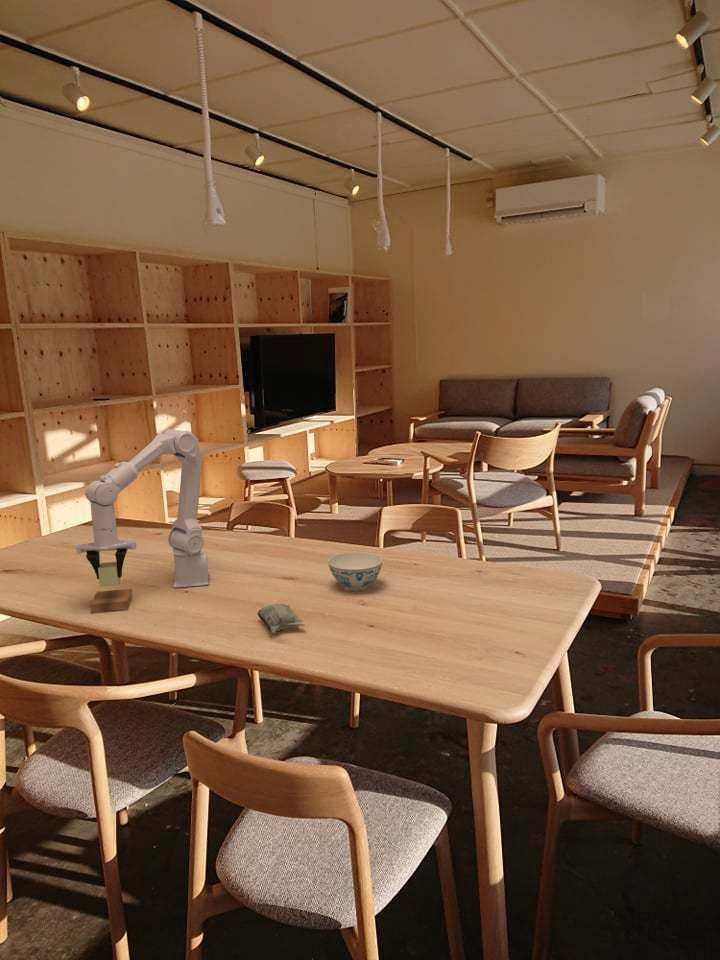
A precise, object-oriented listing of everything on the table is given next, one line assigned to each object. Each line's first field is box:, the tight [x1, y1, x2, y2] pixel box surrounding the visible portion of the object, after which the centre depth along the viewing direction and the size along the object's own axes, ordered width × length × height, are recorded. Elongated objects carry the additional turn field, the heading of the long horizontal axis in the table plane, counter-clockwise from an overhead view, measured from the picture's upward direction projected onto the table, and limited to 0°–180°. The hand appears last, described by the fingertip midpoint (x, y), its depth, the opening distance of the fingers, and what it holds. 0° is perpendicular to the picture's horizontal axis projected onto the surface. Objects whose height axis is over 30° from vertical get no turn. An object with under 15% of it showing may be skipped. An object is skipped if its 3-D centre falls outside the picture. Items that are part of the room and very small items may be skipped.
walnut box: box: [90, 588, 134, 615], centre depth 184 cm, size 9×9×3 cm
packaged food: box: [256, 602, 306, 634], centre depth 168 cm, size 9×12×5 cm
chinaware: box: [327, 551, 383, 592], centre depth 193 cm, size 15×15×8 cm
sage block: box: [98, 561, 122, 588], centre depth 183 cm, size 4×4×5 cm
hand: (109, 577), depth 183 cm, fingers closed on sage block, 4 cm apart
